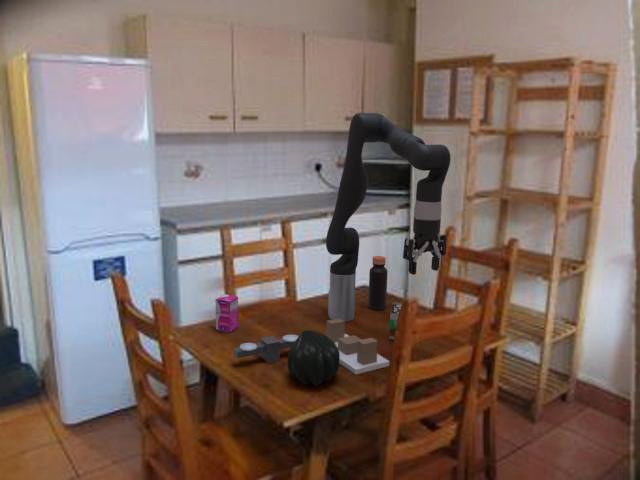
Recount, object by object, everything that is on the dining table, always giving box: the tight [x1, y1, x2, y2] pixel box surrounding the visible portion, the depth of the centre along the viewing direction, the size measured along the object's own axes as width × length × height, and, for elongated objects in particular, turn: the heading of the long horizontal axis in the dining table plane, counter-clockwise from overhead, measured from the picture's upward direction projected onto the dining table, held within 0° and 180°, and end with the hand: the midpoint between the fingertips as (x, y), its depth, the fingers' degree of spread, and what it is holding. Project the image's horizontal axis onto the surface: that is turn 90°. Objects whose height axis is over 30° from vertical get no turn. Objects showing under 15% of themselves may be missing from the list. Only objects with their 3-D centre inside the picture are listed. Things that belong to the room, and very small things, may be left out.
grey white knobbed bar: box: [233, 334, 300, 364], centre depth 169 cm, size 22×5×6 cm, turn 120°
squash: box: [286, 329, 340, 386], centre depth 156 cm, size 14×15×15 cm
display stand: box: [325, 318, 390, 375], centre depth 172 cm, size 24×12×8 cm, turn 30°
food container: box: [388, 301, 403, 342], centre depth 188 cm, size 12×6×10 cm, turn 168°
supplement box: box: [214, 293, 239, 334], centre depth 191 cm, size 6×6×12 cm
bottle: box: [367, 255, 388, 311], centre depth 214 cm, size 7×7×20 cm
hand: (423, 272), depth 161 cm, fingers open, 8 cm apart
